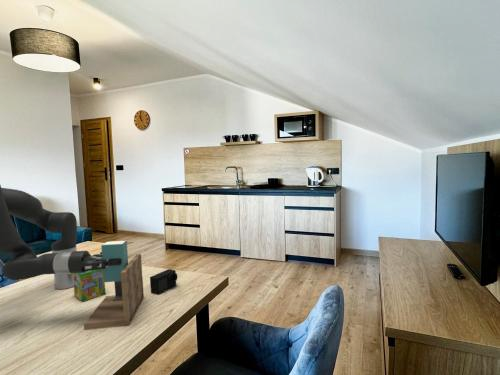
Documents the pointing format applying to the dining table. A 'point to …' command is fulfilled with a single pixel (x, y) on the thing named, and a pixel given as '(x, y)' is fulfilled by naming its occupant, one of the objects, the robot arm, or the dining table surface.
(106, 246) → the teal hardcover book
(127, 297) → the walnut shelf
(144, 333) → the dining table surface
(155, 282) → the digital camera
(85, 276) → the chalk box
